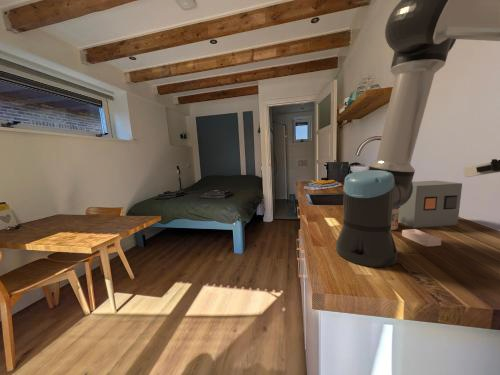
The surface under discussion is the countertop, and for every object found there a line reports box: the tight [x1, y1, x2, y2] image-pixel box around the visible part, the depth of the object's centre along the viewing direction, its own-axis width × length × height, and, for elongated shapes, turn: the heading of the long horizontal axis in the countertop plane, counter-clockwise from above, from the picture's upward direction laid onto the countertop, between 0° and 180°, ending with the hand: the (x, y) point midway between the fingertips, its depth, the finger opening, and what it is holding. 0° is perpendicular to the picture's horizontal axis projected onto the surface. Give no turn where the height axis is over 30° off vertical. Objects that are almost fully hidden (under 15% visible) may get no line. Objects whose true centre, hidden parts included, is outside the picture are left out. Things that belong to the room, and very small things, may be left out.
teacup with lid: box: [391, 207, 400, 231], centre depth 78 cm, size 12×9×12 cm
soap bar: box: [401, 228, 442, 247], centre depth 65 cm, size 5×9×2 cm, turn 5°
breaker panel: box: [398, 180, 463, 229], centre depth 79 cm, size 18×10×16 cm, turn 94°
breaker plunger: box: [424, 197, 436, 209], centre depth 79 cm, size 4×10×4 cm, turn 4°
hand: (466, 172), depth 58 cm, fingers closed
